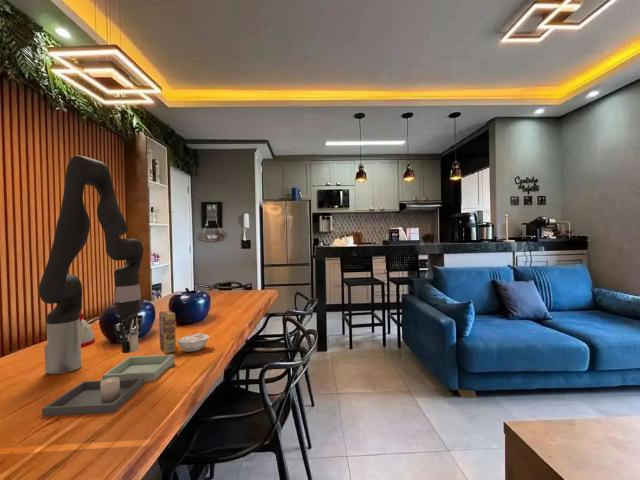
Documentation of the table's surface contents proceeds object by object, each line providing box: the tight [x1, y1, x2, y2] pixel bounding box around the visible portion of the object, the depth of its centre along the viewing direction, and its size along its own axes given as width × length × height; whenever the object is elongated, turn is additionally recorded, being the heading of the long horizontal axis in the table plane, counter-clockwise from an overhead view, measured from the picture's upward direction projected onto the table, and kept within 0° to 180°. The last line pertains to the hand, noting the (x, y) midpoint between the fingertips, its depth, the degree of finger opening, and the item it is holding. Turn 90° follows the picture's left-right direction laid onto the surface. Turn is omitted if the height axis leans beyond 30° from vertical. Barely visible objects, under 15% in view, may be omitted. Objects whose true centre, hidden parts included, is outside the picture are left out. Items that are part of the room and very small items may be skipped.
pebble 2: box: [126, 334, 139, 354], centre depth 109 cm, size 4×4×5 cm
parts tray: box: [41, 378, 145, 417], centre depth 91 cm, size 18×16×3 cm
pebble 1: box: [100, 377, 120, 403], centre depth 91 cm, size 4×4×5 cm
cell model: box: [177, 332, 210, 353], centre depth 131 cm, size 10×12×7 cm
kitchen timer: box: [80, 311, 96, 348], centre depth 144 cm, size 14×14×15 cm
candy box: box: [158, 310, 177, 354], centre depth 133 cm, size 9×4×15 cm, turn 39°
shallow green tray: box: [101, 354, 175, 383], centre depth 109 cm, size 16×16×4 cm
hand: (130, 349), depth 109 cm, fingers closed on pebble 2, 4 cm apart
